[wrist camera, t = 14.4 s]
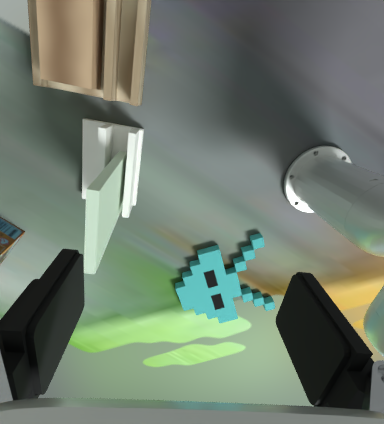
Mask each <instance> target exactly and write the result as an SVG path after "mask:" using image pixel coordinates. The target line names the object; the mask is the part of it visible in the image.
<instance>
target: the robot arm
mask: <svg viewBox="0 0 384 424" xmlns="http://www.w3.org/2000/svg"><path fill="white" fill-rule="evenodd" d="M290 175H291V176H290ZM284 193H285V196H286V198H287V200H288V201H289V203H290V204H291V205H292V206H293V207H295V208H296V209H298V210H300V211H303V212H309V213H311V212H315V213H316V214H317V215H318V216H319V217H321V218H322V219H323V220H324V221H326V222H327V223H328V224H329V225H331V226H332V227H333V228H334V229H336V230H337V231H338V232H339V233H341V234H342V235H343V236H344V237H346V238H347V239H348V240H349V241H351V242H352V243H353V244H355V245H356V246H357V247H359V248H360V249H362V250H363V251H365V252H367V253H370V254H373V255H376V256H382V257H384V176H383V175H380V174H378V173H375V172H372V171H370V170H367V169H364V168H362V167H359V166H356V165H354V164H352V162H351V160H350V158H349V156H348V155H347V154H346V153H345V152H344V151H342V150H340V149H338V148H335V147H332V146H318V147H314V148H311V149H309V150H307V151H305V152H304V153H302V154H301V155H300V156H298V157H297V158H296V159H295V160H294V162H293V163H292V164H291V165H290V167H289V169H288V170H287V173H286V175H285V179H284ZM83 308H84V270H83V254H79V251H78V250H72V249H62V250H61V252H60V253H59V254H58V256H57V257H56V258H55V259H54V261H53V262H52V263H51V265H50V266H49V267H48V269H47V270H46V271H45V272H44V274H43V275H42V276H41V278H40V279H34V280H33V281H32V282H31V283H30V284H29V285H28V286H27V288H26V289H25V290H24V291H23V293H22V294H21V295H20V296H19V298H18V299H17V300H16V301H15V302H14V304H13V305H12V306H11V307H10V309H9V310H8V311H7V312H6V314H5V315H4V316H3V317H2V319H1V320H0V424H384V361H383V360H382V361H376V362H374V361H373V360H372V359H371V356H372V355H373V353H372V352H371V351H370V350H369V348H368V347H367V346H366V344H365V343H364V342H363V340H362V339H361V338H360V336H359V335H358V334H357V333H356V331H355V330H354V328H353V327H352V326H351V324H350V323H349V322H348V320H347V319H346V318H345V317H344V315H343V314H342V313H341V311H340V310H339V309H338V307H337V306H336V305H335V303H334V302H333V301H332V299H331V298H330V297H329V295H328V294H327V293H326V291H325V290H324V289H323V288H322V286H321V285H320V284H319V282H318V281H317V280H316V278H315V277H314V276H313V275H312V274H311V273H303V272H298V273H296V275H293V276H292V278H291V281H290V283H289V286H288V289H287V291H286V294H285V296H284V299H283V302H282V304H281V306H280V309H279V311H278V314H277V316H276V325H277V328H278V330H279V332H280V335H281V337H282V339H283V342H284V344H285V346H286V348H287V351H288V353H289V356H290V358H291V360H292V363H293V365H294V367H295V370H296V372H297V374H298V377H299V379H300V381H301V383H302V386H303V388H304V391H305V393H306V395H307V398H308V400H309V402H310V403H311V404H312V405H314V407H312V406H290V405H289V406H288V405H267V404H265V405H264V404H242V403H217V402H191V401H190V402H189V401H163V400H132V399H98V398H97V399H96V398H95V399H94V398H38V397H39V395H40V394H42V395H43V394H45V392H46V391H47V389H48V386H49V384H50V382H51V380H52V378H53V375H54V373H55V371H56V369H57V367H58V364H59V362H60V360H61V358H62V355H63V353H64V351H65V349H66V347H67V344H68V342H69V340H70V338H71V336H72V333H73V331H74V329H75V327H76V324H77V322H78V320H79V318H80V316H81V313H82V311H83ZM363 325H364V331H365V333H366V335H367V337H368V339H369V341H370V342H371V344H372V345H373V346H374V347H375V349H376V350H377V351H378V352H379V353H380V354H381V355H382V356H383V357H384V286H383V287H382V289H381V290H380V292H379V293H378V295H377V296H376V297H375V299H374V300H373V302H372V303H371V305H370V306H369V308H368V310H367V311H366V314H365V316H364V322H363Z"/></svg>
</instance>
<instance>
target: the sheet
mask: <svg viewBox="0 0 384 424" xmlns="http://www.w3.org/2000/svg"><path fill="white" fill-rule="evenodd" d="M126 160H127V152H123V151H119V152H118V153H117V155H116V156H115V157H114V158H113V159H112V160H111V162H110V163H109V164H108V165H107V166H106V167H105V168H104V170H103V171H102V172H101V173H100V174H99V175H98V176H97V178H96V179H95V180H94V181H93V182H92V183H91V184H90V186H89V187H88V188H87V189H86V219H85V253H84V273H89V274H95V273H96V271H97V268H98V266H99V263H100V261H101V259H102V256H103V254H104V251H105V249H106V246H107V244H108V241H109V239H110V237H111V234H112V232H113V229H114V227H115V224H116V222H117V219H118V217H119V215H120V212H121V210H122V204H123V193H124V183H125V172H126Z"/></svg>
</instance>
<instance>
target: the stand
mask: <svg viewBox="0 0 384 424" xmlns="http://www.w3.org/2000/svg"><path fill="white" fill-rule="evenodd" d="M143 133H144V129H142V128H136V127H131V126H125V125H120V124H114V123H109V122H103V121H98V120H92V119H87V118H85V119H83V148H82V199H86V189H87V188H88V187H89V186H90V184H91V183H92V182H93V181H94V180H95V179H96V178H97V176H98V175H99V174H100V173H101V172H102V171H103V170H104V168H105V167H106V166H107V165H108V164H109V163H110V162H111V160H112V159H113V158H114V157H115V156H116V155H117V153H118V152H119V151H123V152H127V160H126V172H125V183H124V193H123V211H122V217H126V218H129V215H130V212H131V209H132V205H134V206H135V205H136V202H137V192H138V182H139V172H140V163H141V153H142V143H143Z"/></svg>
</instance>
